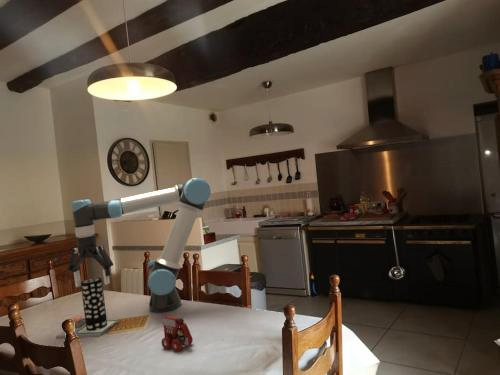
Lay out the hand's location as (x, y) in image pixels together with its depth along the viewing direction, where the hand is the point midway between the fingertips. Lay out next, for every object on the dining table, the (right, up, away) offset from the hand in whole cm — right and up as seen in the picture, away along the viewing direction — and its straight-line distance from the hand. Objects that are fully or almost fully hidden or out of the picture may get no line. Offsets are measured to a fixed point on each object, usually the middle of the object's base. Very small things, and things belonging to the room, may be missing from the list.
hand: (92, 285), depth 156 cm
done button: (-9, -18, +5) cm, 21 cm away
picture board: (-2, -19, +1) cm, 20 cm away
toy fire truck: (+42, -15, -26) cm, 51 cm away
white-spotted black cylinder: (+2, -18, 0) cm, 18 cm away
